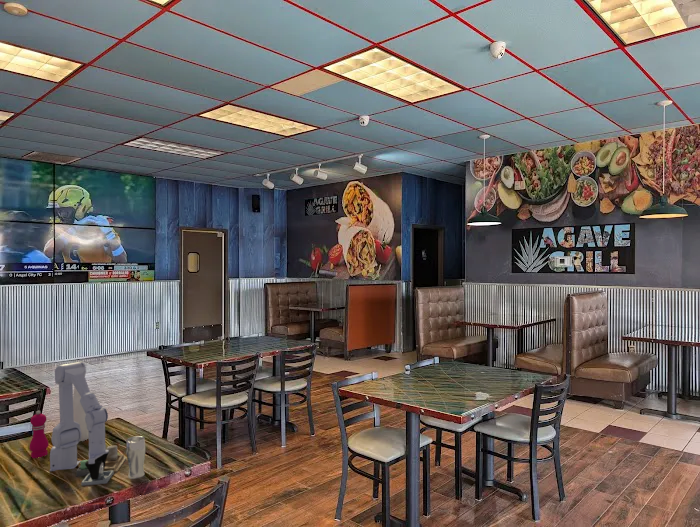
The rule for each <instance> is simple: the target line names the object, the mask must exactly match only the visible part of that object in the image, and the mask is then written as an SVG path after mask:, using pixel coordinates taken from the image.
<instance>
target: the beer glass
mask: <svg viewBox="0 0 700 527" xmlns="http://www.w3.org/2000/svg"><path fill="white" fill-rule="evenodd" d="M125 445H126V446H125V448H126V449H125V452H126V453H125V454H126V460H127V464H128V474H127V477H128V479H131V480H134V479H135V480H136V479H139V478H142V477H144V476H145V474H146V473H145V470H144V463H145V457H146V440H145V437H144V436H141V435H138V436H137V435H135V436H132V437H128V438H127V439H126V444H125Z"/></svg>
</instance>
